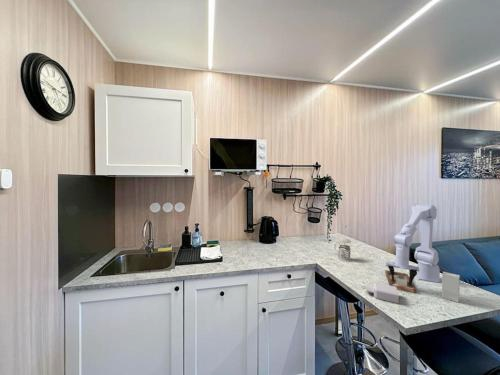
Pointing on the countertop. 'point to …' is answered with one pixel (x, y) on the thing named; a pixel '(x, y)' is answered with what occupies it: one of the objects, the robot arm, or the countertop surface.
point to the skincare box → (450, 286)
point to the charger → (383, 292)
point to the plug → (401, 280)
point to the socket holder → (399, 285)
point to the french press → (342, 256)
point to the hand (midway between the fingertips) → (401, 281)
